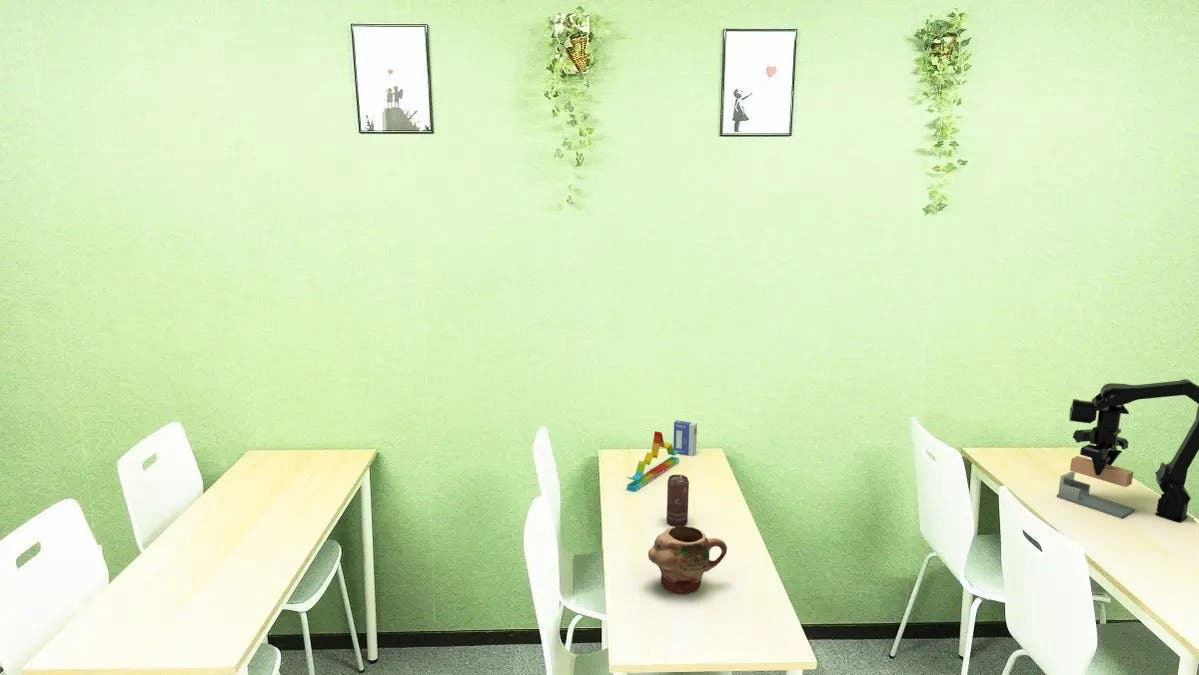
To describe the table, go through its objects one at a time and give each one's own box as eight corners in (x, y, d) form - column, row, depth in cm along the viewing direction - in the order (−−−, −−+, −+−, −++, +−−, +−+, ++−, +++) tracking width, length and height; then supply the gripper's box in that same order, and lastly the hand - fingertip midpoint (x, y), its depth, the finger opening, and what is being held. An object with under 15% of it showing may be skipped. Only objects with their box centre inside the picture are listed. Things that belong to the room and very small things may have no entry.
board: (1135, 511, 248) (1135, 508, 248) (1121, 518, 243) (1122, 516, 243) (1070, 490, 263) (1070, 488, 263) (1056, 496, 258) (1056, 494, 258)
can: (689, 519, 241) (690, 474, 237) (685, 528, 235) (687, 483, 231) (668, 516, 242) (670, 472, 239) (664, 525, 236) (666, 480, 233)
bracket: (1088, 495, 257) (1091, 477, 256) (1078, 500, 253) (1080, 482, 252) (1069, 488, 262) (1071, 471, 261) (1058, 493, 258) (1060, 476, 257)
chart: (635, 493, 259) (636, 448, 256) (626, 490, 261) (627, 446, 258) (679, 463, 284) (680, 422, 281) (671, 461, 286) (672, 420, 283)
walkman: (673, 453, 293) (673, 421, 291) (675, 450, 296) (676, 419, 293) (693, 456, 290) (694, 424, 287) (696, 454, 292) (697, 422, 290)
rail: (1131, 484, 245) (1133, 471, 244) (1125, 487, 243) (1127, 474, 242) (1076, 467, 258) (1077, 455, 257) (1070, 470, 256) (1071, 458, 255)
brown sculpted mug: (715, 567, 212) (717, 518, 209) (733, 591, 201) (736, 540, 198) (641, 576, 208) (642, 526, 205) (656, 601, 196) (657, 549, 193)
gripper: (1093, 413, 258) (1087, 459, 262) (1065, 424, 248) (1059, 472, 251) (1132, 422, 250) (1125, 469, 253) (1104, 434, 239) (1097, 483, 242)
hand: (1100, 473), depth 250 cm, fingers closed on rail, 4 cm apart
